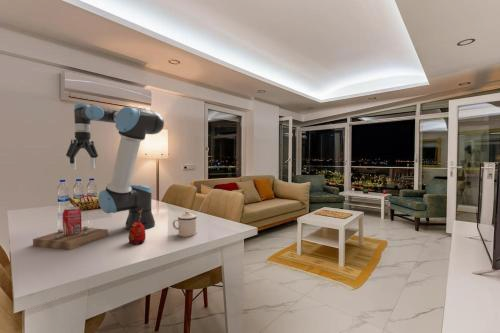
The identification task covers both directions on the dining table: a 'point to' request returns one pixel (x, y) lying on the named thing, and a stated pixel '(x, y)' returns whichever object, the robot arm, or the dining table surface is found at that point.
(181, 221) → the teacup with lid
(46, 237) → the peg riser
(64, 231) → the soda can
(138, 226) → the red clay folk toy
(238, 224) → the dining table surface
